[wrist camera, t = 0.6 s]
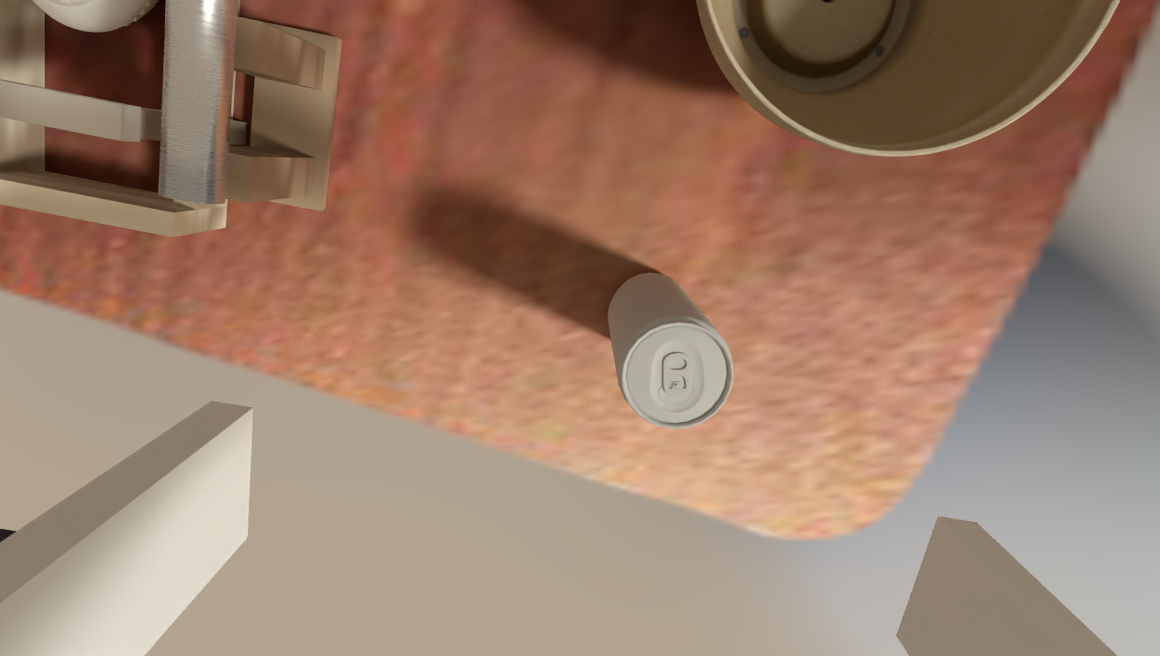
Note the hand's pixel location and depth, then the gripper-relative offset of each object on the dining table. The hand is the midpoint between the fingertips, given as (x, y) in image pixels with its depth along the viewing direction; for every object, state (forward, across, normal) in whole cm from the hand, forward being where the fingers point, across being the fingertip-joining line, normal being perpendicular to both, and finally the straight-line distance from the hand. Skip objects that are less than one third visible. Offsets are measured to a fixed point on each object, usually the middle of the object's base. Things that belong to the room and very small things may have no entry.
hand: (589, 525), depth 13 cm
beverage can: (+26, +4, -2) cm, 27 cm away
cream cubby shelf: (+26, -17, +6) cm, 32 cm away
